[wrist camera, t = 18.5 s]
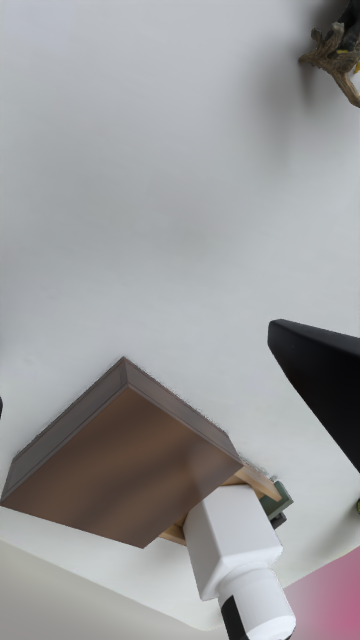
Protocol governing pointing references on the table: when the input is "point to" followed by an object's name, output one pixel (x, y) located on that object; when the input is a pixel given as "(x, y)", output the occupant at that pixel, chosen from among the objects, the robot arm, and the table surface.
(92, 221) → the table surface
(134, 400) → the cabinet
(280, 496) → the drawer
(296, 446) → the table surface
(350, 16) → the eagle figurine
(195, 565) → the medicine bottle
